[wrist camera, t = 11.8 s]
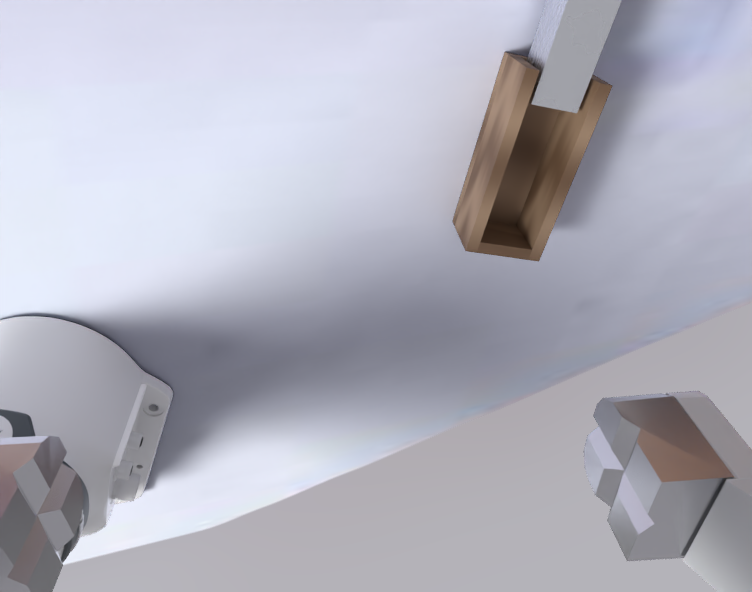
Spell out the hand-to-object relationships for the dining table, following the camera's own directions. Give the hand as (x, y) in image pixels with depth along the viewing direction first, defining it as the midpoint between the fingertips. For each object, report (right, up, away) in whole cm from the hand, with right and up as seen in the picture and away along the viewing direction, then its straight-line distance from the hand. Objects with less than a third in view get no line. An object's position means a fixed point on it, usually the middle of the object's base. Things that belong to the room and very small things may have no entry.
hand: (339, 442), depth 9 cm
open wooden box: (+10, +12, +30) cm, 34 cm away
